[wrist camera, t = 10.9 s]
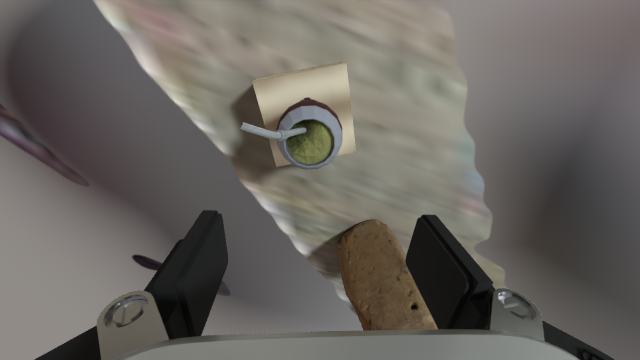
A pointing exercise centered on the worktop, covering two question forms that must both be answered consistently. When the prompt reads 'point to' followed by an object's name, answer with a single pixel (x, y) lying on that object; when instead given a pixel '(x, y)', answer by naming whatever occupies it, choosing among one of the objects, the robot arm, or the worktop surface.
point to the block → (380, 280)
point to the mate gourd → (305, 134)
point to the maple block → (297, 85)
